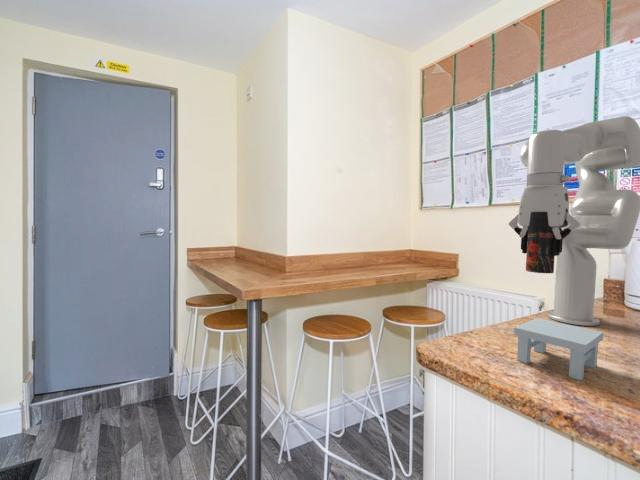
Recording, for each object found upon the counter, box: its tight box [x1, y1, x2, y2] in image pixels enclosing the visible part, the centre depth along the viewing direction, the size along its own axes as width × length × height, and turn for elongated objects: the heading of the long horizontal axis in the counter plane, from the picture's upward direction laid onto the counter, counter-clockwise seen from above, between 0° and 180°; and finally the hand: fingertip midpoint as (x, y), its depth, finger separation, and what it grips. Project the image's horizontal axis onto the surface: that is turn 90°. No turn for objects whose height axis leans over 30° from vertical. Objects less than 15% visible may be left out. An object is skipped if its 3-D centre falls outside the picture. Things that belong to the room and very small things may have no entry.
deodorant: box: [525, 212, 556, 274], centre depth 83 cm, size 6×6×15 cm
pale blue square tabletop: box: [513, 317, 604, 381], centre depth 68 cm, size 12×12×7 cm
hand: (540, 253), depth 83 cm, fingers closed on deodorant, 5 cm apart
